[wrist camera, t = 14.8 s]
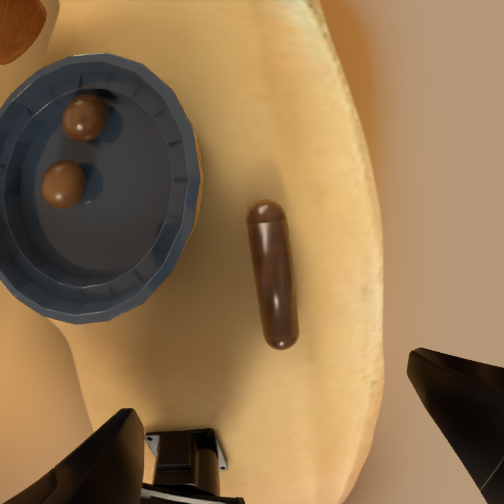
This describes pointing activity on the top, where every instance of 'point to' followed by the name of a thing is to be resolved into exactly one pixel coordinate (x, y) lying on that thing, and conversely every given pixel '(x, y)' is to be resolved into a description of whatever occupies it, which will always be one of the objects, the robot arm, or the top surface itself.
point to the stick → (273, 273)
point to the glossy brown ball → (63, 184)
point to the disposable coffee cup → (19, 27)
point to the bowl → (96, 190)
